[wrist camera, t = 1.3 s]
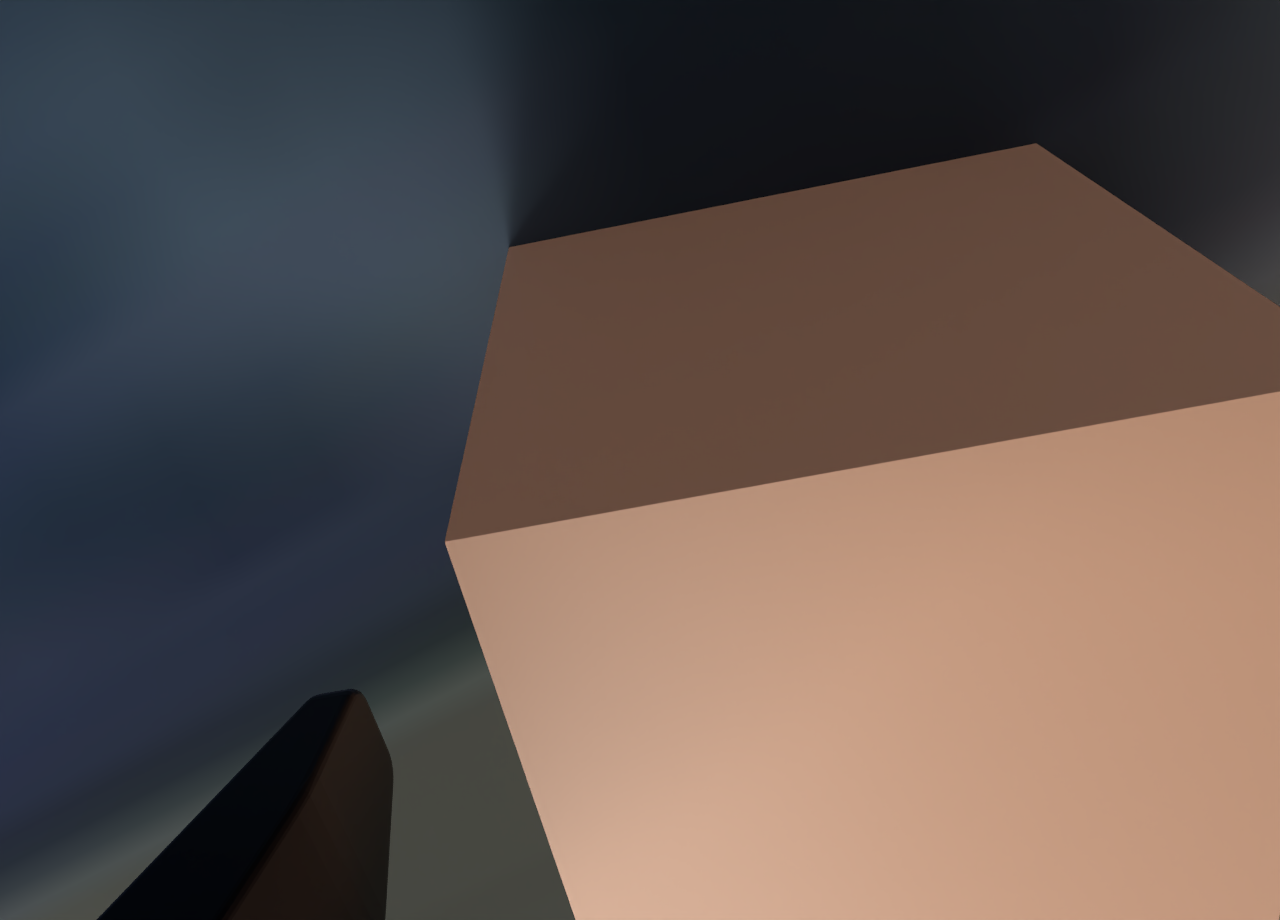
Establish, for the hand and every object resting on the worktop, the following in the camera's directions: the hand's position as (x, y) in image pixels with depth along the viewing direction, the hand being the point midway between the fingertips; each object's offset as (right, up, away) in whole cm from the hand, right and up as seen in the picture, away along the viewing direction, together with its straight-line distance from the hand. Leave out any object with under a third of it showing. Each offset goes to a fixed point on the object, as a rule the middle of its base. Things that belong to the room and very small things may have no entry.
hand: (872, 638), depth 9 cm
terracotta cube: (0, +2, +3) cm, 4 cm away
